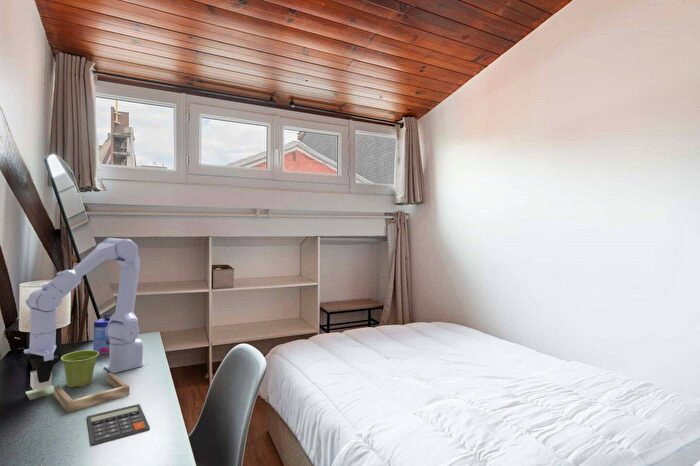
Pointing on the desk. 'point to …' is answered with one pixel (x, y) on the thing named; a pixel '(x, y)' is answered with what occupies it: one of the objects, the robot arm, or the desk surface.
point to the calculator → (116, 424)
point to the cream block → (35, 383)
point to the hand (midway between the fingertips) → (41, 379)
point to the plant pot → (79, 367)
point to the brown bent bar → (83, 402)
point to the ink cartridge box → (101, 336)
